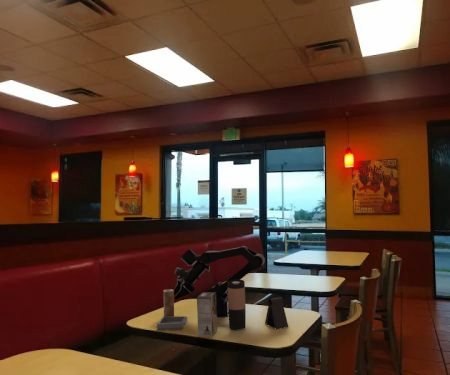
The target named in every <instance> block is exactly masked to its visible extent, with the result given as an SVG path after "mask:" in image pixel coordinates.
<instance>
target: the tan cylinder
mask: <svg viewBox="0 0 450 375" xmlns="http://www.w3.org/2000/svg"><path fill="white" fill-rule="evenodd" d="M162 292H163V293H162V294H163V316H175V295H174V289H172V288H171V289H170V288H169V289H163V290H162Z"/></svg>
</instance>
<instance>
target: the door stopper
mask: <svg viewBox="0 0 450 375" xmlns="http://www.w3.org/2000/svg"><path fill="white" fill-rule="evenodd" d="M267 304H268V305H267V311H266V316H265V321H264V324H265V326H268V325H269V327H270V326H271V328H273V329H275V328H276V329H275V330H280V328H281V329H285V328H288V327H289V323H288V320H287V316H286V311H285V307H284V299H283V297H282V296H278V297H273V298H272V297H271V298H268V300H267ZM284 327H285V328H284Z"/></svg>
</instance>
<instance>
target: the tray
mask: <svg viewBox="0 0 450 375" xmlns="http://www.w3.org/2000/svg"><path fill="white" fill-rule="evenodd" d="M187 322H188V316H186V315H185V316H183V315H182V316H181V315H178V316H177V315H174V316H164V315H163V316H162V318H160V320H159V321H158V322H157V324H156V330H160V331H161V330H162V331H163V330H164V331H165V330H170V331H171V330H173V331H176V330H178V331H179V330H180V331H182V330H183V329H184V328H185V326H186V324H187Z"/></svg>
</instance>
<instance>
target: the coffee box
mask: <svg viewBox="0 0 450 375" xmlns="http://www.w3.org/2000/svg"><path fill="white" fill-rule="evenodd" d="M196 307H197V308H196V311H197V312H196V313H197V314H196V315H197V337H203V338H204V337H206V338H209V337H210V338H213V336H214V335H215V333H216V332H217V331H218V317H217V304H216V292H210V291H209V292H208V291H205V292H204V291H203V292H201V293H200V294H199V295H198V296H196Z"/></svg>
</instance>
